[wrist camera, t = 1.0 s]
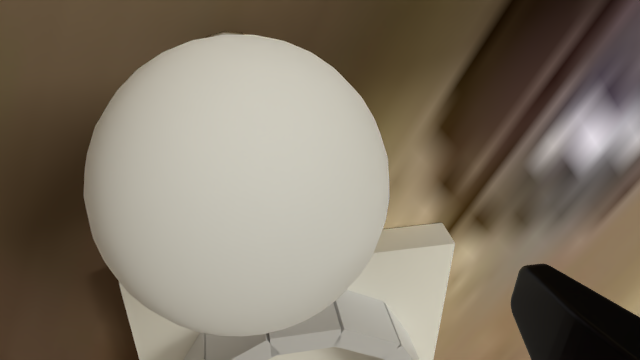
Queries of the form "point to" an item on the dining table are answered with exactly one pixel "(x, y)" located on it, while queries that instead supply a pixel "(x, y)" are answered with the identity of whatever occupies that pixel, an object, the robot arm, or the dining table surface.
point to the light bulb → (236, 185)
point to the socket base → (334, 312)
